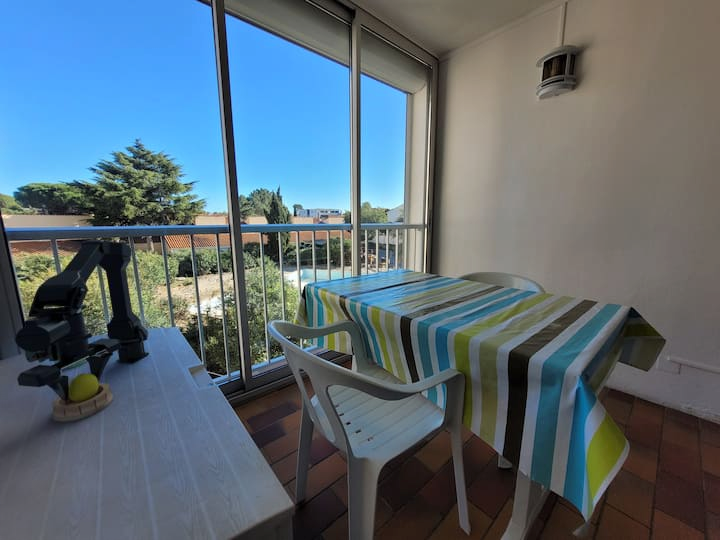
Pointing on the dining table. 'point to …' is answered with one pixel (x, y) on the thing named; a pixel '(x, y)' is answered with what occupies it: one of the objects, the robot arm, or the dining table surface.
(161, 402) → the dining table surface
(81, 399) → the lemon
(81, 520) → the dining table surface
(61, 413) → the wooden bowl
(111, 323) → the robot arm
